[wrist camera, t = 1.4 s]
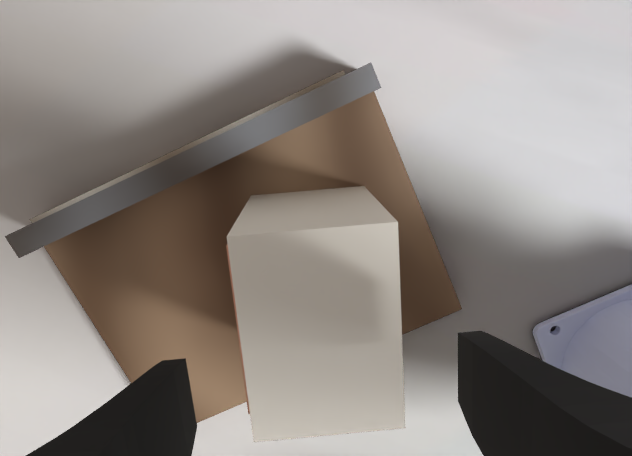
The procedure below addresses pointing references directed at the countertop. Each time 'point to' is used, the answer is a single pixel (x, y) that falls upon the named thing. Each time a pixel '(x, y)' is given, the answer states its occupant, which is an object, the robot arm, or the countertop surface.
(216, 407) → the shelf
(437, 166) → the countertop surface
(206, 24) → the countertop surface
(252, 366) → the carton
